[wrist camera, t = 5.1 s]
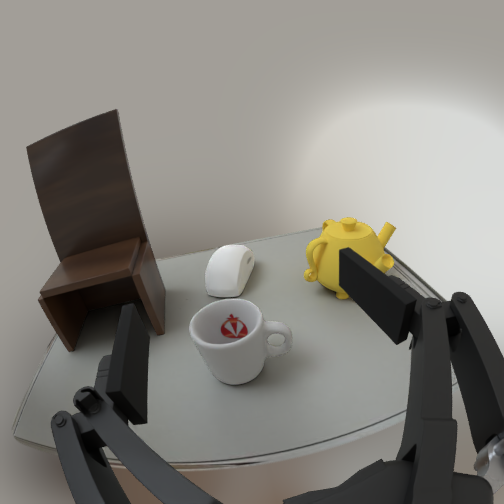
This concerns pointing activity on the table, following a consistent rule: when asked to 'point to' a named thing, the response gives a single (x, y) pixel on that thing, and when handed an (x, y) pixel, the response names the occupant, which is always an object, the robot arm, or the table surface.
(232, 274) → the computer mouse
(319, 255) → the teapot
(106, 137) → the wooden chair
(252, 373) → the cup
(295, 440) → the table surface
